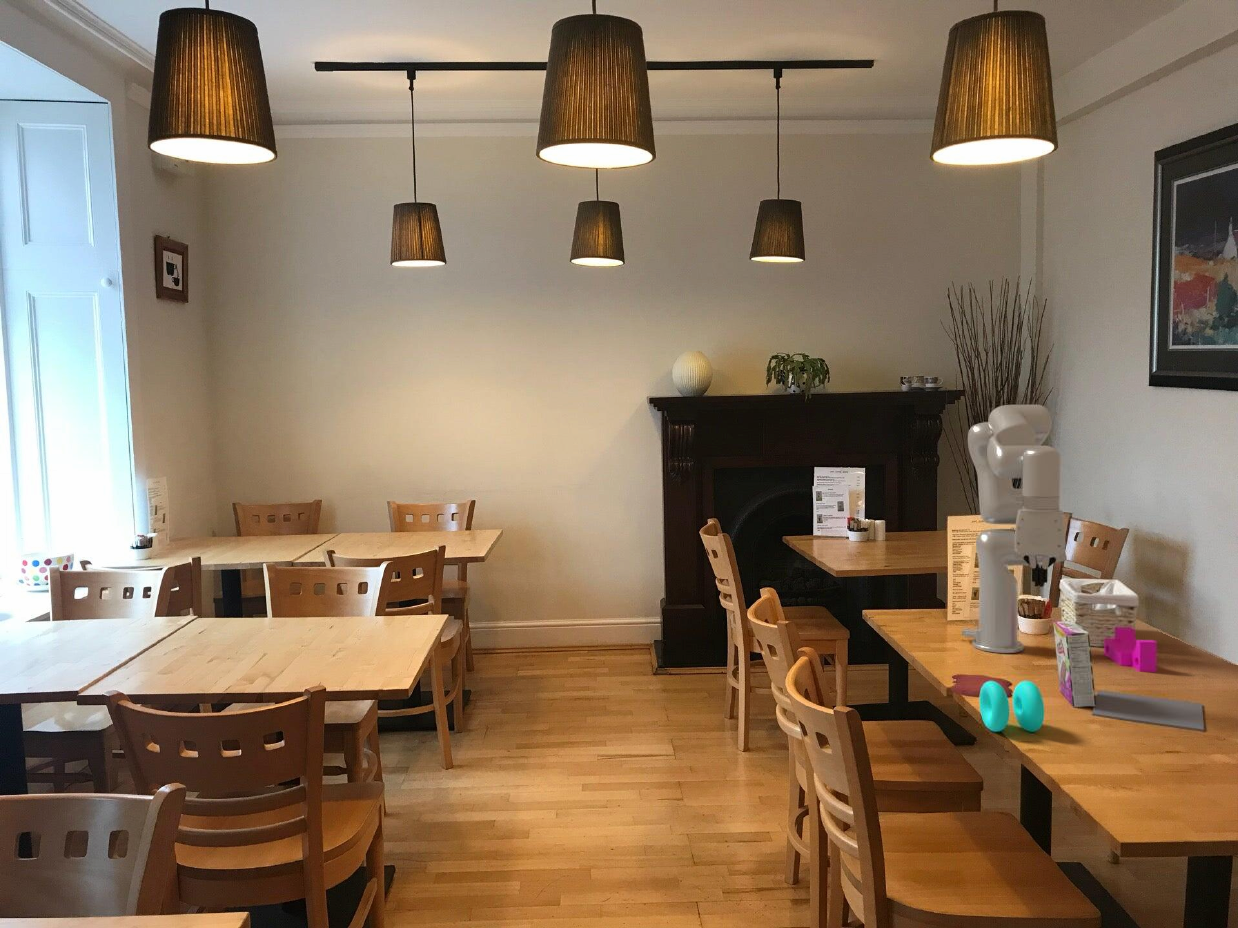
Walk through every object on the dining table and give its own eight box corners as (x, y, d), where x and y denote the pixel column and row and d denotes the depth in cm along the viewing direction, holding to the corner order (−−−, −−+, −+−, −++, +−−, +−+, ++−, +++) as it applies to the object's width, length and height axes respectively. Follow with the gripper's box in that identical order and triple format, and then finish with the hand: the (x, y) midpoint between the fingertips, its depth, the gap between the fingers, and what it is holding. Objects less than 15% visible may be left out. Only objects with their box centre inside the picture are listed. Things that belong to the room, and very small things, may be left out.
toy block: (1104, 655, 242) (1104, 626, 241) (1129, 655, 241) (1130, 627, 240) (1128, 672, 227) (1129, 641, 226) (1156, 672, 226) (1156, 642, 226)
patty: (950, 677, 226) (950, 669, 226) (1012, 683, 221) (1012, 674, 221) (947, 699, 210) (947, 690, 210) (1014, 705, 205) (1014, 697, 204)
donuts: (977, 721, 194) (977, 674, 193) (1025, 721, 194) (1026, 674, 193) (994, 739, 184) (995, 689, 183) (1046, 739, 184) (1047, 689, 183)
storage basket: (1057, 626, 272) (1058, 576, 271) (1119, 629, 267) (1120, 578, 266) (1072, 647, 249) (1073, 593, 248) (1140, 651, 244) (1141, 595, 243)
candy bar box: (1058, 692, 212) (1052, 621, 211) (1082, 691, 211) (1075, 619, 210) (1072, 708, 201) (1065, 633, 200) (1097, 707, 200) (1090, 632, 199)
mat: (1091, 715, 196) (1091, 713, 196) (1098, 691, 212) (1098, 689, 212) (1203, 731, 186) (1204, 729, 186) (1201, 705, 202) (1201, 703, 202)
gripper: (1001, 504, 208) (1001, 585, 209) (1076, 507, 200) (1075, 591, 201) (1007, 500, 214) (1006, 579, 215) (1079, 503, 206) (1078, 585, 208)
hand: (1039, 585), depth 208 cm, fingers closed
